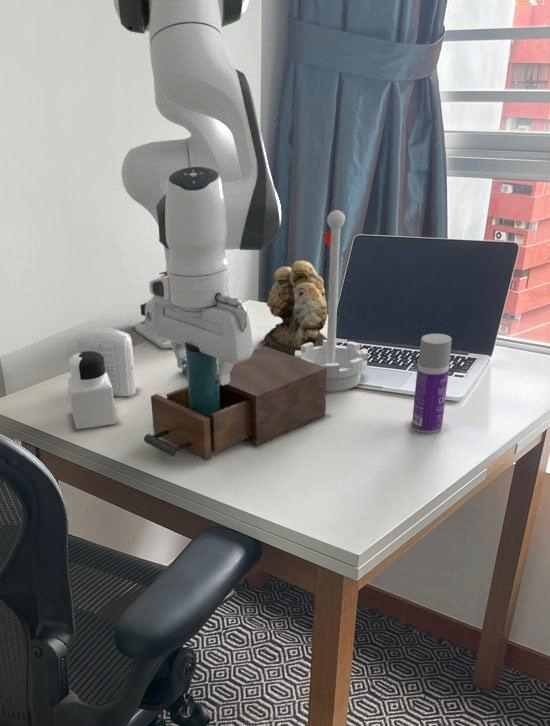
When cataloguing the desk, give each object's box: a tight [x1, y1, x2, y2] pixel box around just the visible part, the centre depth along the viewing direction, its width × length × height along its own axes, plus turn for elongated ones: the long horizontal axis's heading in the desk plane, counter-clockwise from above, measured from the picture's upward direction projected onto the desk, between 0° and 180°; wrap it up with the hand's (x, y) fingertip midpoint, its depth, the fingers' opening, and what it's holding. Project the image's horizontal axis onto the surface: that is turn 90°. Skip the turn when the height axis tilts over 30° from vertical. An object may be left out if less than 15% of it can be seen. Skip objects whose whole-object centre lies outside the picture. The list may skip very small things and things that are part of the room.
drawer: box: [143, 385, 253, 462], centre depth 135 cm, size 19×14×7 cm
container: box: [411, 333, 453, 435], centre depth 131 cm, size 5×5×15 cm
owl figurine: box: [263, 260, 328, 356], centre depth 166 cm, size 18×12×17 cm, turn 26°
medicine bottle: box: [67, 351, 117, 430], centre depth 145 cm, size 7×7×12 cm
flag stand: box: [295, 209, 369, 392], centre depth 147 cm, size 13×13×30 cm
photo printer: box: [78, 327, 137, 397], centre depth 155 cm, size 10×4×12 cm, turn 69°
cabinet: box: [218, 345, 327, 447], centre depth 141 cm, size 16×15×9 cm
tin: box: [185, 343, 220, 435], centre depth 133 cm, size 5×5×15 cm
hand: (203, 375), depth 131 cm, fingers open, 8 cm apart
